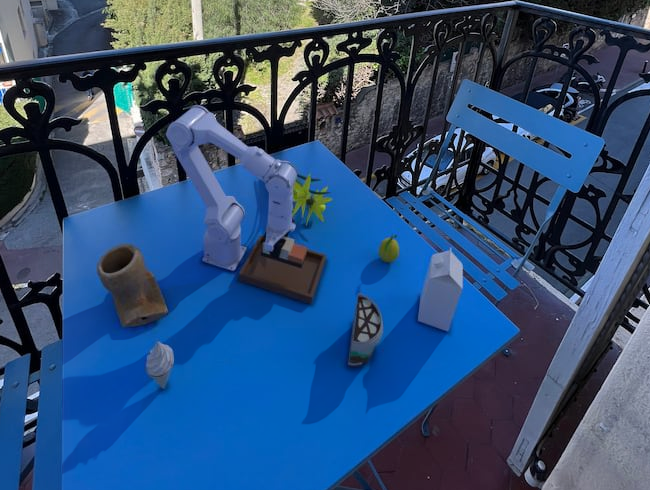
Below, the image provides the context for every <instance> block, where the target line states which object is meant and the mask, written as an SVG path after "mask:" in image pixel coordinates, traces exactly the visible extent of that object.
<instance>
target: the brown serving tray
mask: <svg viewBox="0 0 650 490" xmlns="http://www.w3.org/2000/svg"><path fill="white" fill-rule="evenodd" d="M263 236H264V235H261V234H260V235H259V236H258V238H257V240H256V242H255V243H254V245H253V247H252V249H251V250H250V252H249V255H248V256H247V258H246V260H245V261H244V264H243V265H242V266H241V269H240V271H239V273H238V281H239V282H243V283H246V284H248V285H251V286H254V287H258V288H261V289H264V290H267V291H270V292H273V293H276V294H279V295H281V296H285V297H288V298H290V299H291V298H292V299H294V300H297V301H300V302H304V303H306V304H309V305H312V304H313V301H314V298H315V295H316V292H317V289H318V285H319V282H320V279H321V277H322V273H323V270H324V267H325V265H326V261H327V254H326V253H322V252H318V251H316V250H311V249H308V248H307V255H306V258H305V260H304V263H303V265H302V268H298V267H295V266H292V265H289V264H286V263H282V262H279V261H276V260H273V259H270V258H266V257H263V256H261V251H262V249H263Z"/></svg>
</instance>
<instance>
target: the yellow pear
mask: <svg viewBox="0 0 650 490" xmlns="http://www.w3.org/2000/svg"><path fill="white" fill-rule="evenodd" d="M393 235H394V234H393V232H392V233H391V235H390V237H386V238H384V239H383V240H381V242H380V243H379V246H378V256H379V257H380V259H381V260H382V261H383V262H385V263H393V262H395V261H396V260H397V259H398V257H399V255H400V245H399V243H398V241H397V240H396V238H397V237H398V234H395V235H394V236H393Z"/></svg>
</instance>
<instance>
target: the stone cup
mask: <svg viewBox="0 0 650 490" xmlns="http://www.w3.org/2000/svg"><path fill="white" fill-rule="evenodd" d="M96 272H97V275H98V278H99V280H100V283H101V284H102V286H103V287H104V288H105V289H106V290H107V291H108V292H109V293H110V294H111V295H112V299H113V304H114V308H115V310H116V312H117V316H118V318H119V321H120V324H121V326H122V328H134V327H140V326H144V325H146V324H149V323H152V322H155V321H157V320H160V319H162V318H163V317H164V316H166V315H167V314H168V307H167V305H166V300H165V298H164V296H163V294H162V291H161V288H160V286H159V284H158V281H157V279H156V278H155V277H156V276H155V275H154V274H153V273H152V271H151V270H149V269H147V267H146V262H145V259H144V256H143V254H142V252H141V250H140V248H138V247H137V246H136V245H134V244H131V243H122V244H121V243H120V244H117V245H116V246H113V247H111V248H110V249H108V250H107V251H105V252H104V254H102V256H101V257H100V259H99V261H98V262H97V265H96Z"/></svg>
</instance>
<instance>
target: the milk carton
mask: <svg viewBox="0 0 650 490" xmlns="http://www.w3.org/2000/svg"><path fill="white" fill-rule="evenodd" d="M463 265H464V264H463V263H462V262H461V261H460V259H458V257H457V256H456V255H455V254H454V252H453V251H452V247H450V248H449V250H445V251H442V252H438V253H433V254H432V255H431V258H430V262H429V265H428V268H427V271H426V275H425V279H424V283H423V287H422V290H421V293H420V298H419V307H418V316H417V321H418V322H420V323H423V324H425V325H428V326H430V327H434V328H437V329H439V330H442V331H445V332H449V330H450V328H451V325H452V321H453V318H454V315H455V312H456V309H457V306H458V304H459V301H460V297H461V295H462V292H463V289H464V288H463V287H464V283H463V282H464V271H463V270H464V266H463Z"/></svg>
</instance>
